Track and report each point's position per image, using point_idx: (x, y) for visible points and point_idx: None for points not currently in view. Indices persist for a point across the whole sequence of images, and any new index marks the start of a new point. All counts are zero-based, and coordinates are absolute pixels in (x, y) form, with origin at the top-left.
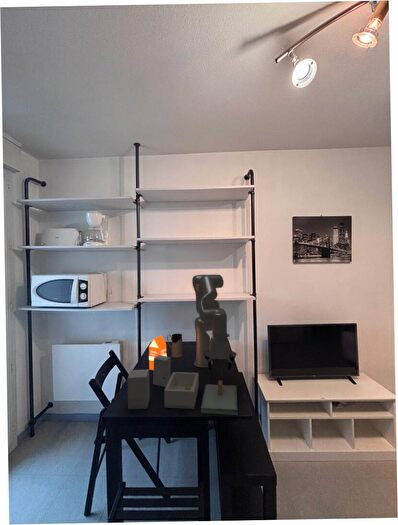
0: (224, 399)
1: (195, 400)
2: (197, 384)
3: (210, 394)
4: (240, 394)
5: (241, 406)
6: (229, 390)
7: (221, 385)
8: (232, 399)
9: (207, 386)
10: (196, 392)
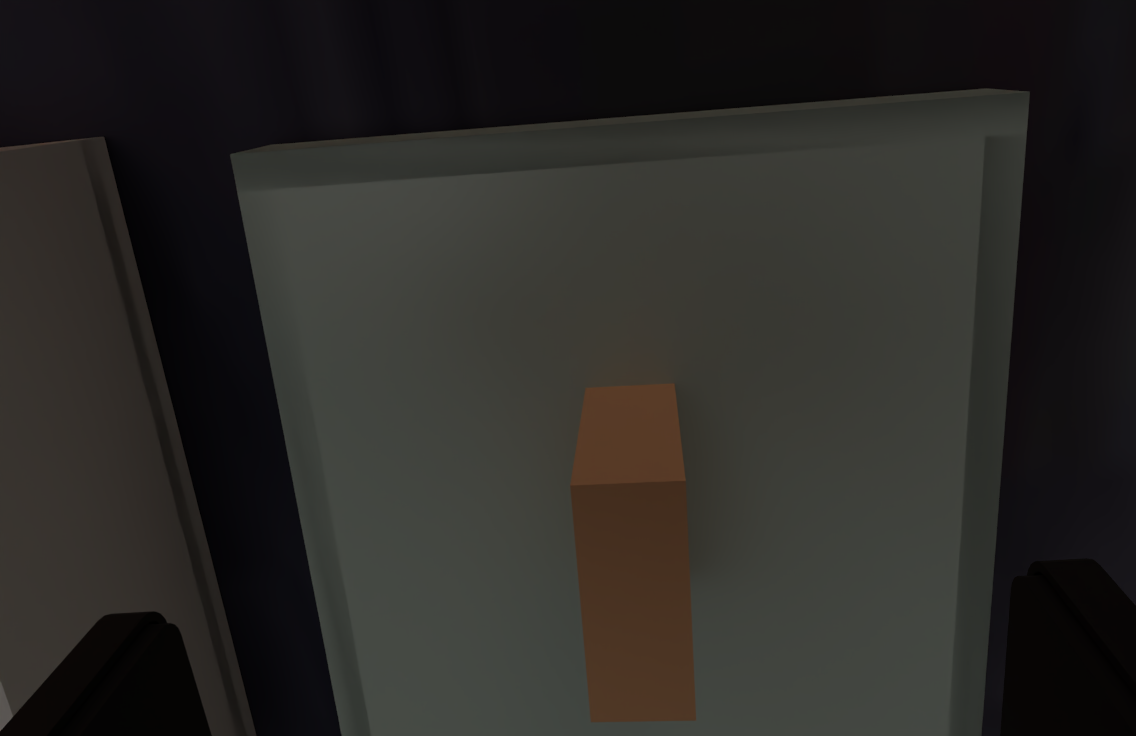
0: (737, 703)
1: (221, 664)
2: (59, 382)
3: (444, 574)
4: (1059, 281)
5: None
6: (836, 370)
7: (680, 716)
8: (892, 688)
9: (301, 265)
10: (154, 545)
